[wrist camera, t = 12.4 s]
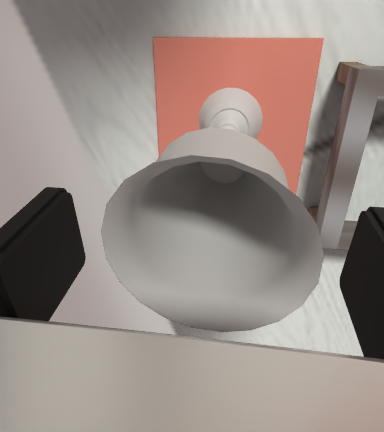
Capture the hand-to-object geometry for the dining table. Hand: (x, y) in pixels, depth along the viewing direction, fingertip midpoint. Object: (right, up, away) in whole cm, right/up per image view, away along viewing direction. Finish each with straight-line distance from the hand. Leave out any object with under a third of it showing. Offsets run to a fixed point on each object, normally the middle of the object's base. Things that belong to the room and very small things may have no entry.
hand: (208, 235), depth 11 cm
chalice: (+3, +8, +15) cm, 18 cm away
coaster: (+3, +8, +16) cm, 18 cm away
